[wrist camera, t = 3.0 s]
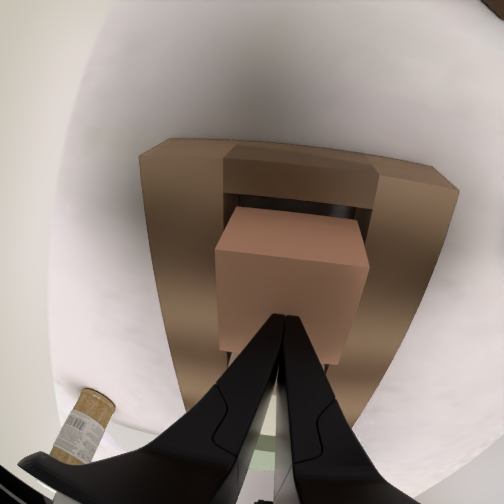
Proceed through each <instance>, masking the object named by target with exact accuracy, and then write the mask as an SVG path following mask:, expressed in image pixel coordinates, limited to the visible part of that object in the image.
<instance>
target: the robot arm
mask: <svg viewBox="0 0 504 504" xmlns="http://www.w3.org/2000/svg"><path fill="white" fill-rule="evenodd" d="M278 366H279V367H278ZM277 373H278V374H277ZM276 378H277V385H276V436H275V472H274V473H275V474H274V502H271V501H264V500H258V502H254V504H420V503H419V502H417V501H416V500H414V499H413V498H411V497H409V496H408V495H406V494H405V493H403V492H402V491H400V490H399V489H397V488H396V487H394V486H393V485H391V484H390V483H389V482H387V481H386V480H385V479H384V478H383V477H382V476H381V475H380V473H379V472H378V471H377V469H376V468H375V466H374V465H373V463H372V461H371V460H370V458H369V457H368V455H367V453H366V452H365V450H364V449H363V447H362V445H361V444H360V442H359V441H358V439H357V437H356V436H355V434H354V432H353V431H352V429H351V427H350V425H349V424H348V422H347V420H346V418H345V416H344V414H343V412H342V410H341V407H340V405H339V403H338V401H337V399H336V396H335V394H334V392H333V390H332V387H331V385H330V383H329V381H328V378H327V376H326V374H325V372H324V369H323V367H322V365H321V363H320V361H319V358H318V356H317V354H316V352H315V349H314V347H313V345H312V343H311V341H310V338H309V336H308V334H307V332H306V330H305V327H304V325H303V323H302V321H301V319H300V317H299V316H295V315H286V318H285V315H284V314H278V313H272V314H271V315H270V317H269V318H268V319H267V320H266V322H265V323H264V324H263V325H262V327H261V328H260V329H259V330H258V332H257V333H256V334H255V335H254V337H253V338H252V339H251V340H250V341H249V343H248V344H247V345H246V346H245V348H244V349H243V350H242V351H241V352H240V354H239V355H238V356H237V357H236V359H235V360H234V361H233V362H232V363H231V365H230V366H229V367H228V368H227V369H226V370H225V372H224V373H223V374H222V375H221V376H220V378H219V379H218V380H217V381H216V384H213V386H212V387H211V388H210V389H209V390H208V391H207V393H206V394H205V395H204V396H203V397H202V398H201V399H200V400H199V401H198V402H197V403H196V404H195V405H194V406H193V407H192V408H191V409H190V410H189V411H188V412H186V413H185V414H184V415H183V416H182V417H181V418H180V419H178V420H177V421H176V422H175V423H174V424H172V425H171V426H170V427H169V428H168V429H166V430H165V431H164V432H163V433H161V434H160V435H159V436H158V437H157V438H155V439H154V440H153V441H151V442H150V443H148V444H147V445H145V446H143V447H142V448H139V449H137V450H134V451H131V452H127V453H124V454H121V455H117V456H114V457H110V458H107V459H103V460H99V461H96V462H92V463H88V464H82V465H72V464H66V463H64V462H61V461H59V460H58V459H56V458H54V457H52V456H50V455H48V454H46V453H44V452H41V451H40V452H37V453H34V454H31V455H29V456H27V457H25V458H23V459H22V460H21V461H20V462H19V463H18V464H17V465H18V466H19V467H20V468H22V469H23V470H25V471H26V472H28V473H29V474H30V475H32V476H33V477H35V478H36V479H38V480H39V481H41V482H43V483H44V484H46V485H47V486H49V487H51V488H52V489H54V490H56V493H55V496H54V498H53V500H50V499H49V498H48V497H46V496H44V495H43V494H41V493H40V492H38V491H36V490H35V489H33V488H32V487H30V486H29V485H27V484H26V483H24V482H23V481H22V480H20V479H19V478H17V477H16V476H15V475H13V474H12V473H10V472H9V471H8V470H6V469H5V468H4V467H3V466H1V465H0V504H236V502H237V499H238V496H239V493H240V490H241V488H242V485H243V482H244V479H245V476H246V474H247V471H248V468H249V465H250V462H251V459H252V456H253V453H254V450H255V447H256V444H257V441H258V438H259V435H260V432H261V429H262V426H263V423H264V419H265V416H266V413H267V410H268V407H269V403H270V400H271V397H272V393H273V390H274V387H275V383H276Z"/></svg>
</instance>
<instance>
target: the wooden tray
mask: <svg viewBox="0 0 504 504" xmlns="http://www.w3.org/2000/svg"><path fill="white" fill-rule="evenodd" d="M139 164H140V174H141V184H142V193H143V201H144V210H145V217H146V225H147V232H148V239H149V245H150V251H151V258H152V264H153V270H154V275H155V281H156V286H157V292H158V297H159V302H160V307H161V312H162V317H163V321H164V326H165V331H166V335H167V340H168V344H169V348H170V352H171V357H172V361H173V365H174V369H175V373H176V377H177V380H178V384H179V388H180V392H181V395H182V399H183V402H184V406H185V409H186V412H188V411H189V410H190V409H191V408H192V407H193V406H194V405H195V404H196V403H197V402H198V401H199V400H200V399H201V398H202V397H203V396H204V395H205V394H206V393H207V391H208V390H209V389H210V388H211V387H212V386H213V384H216V381H217V380H218V379H219V378H220V376H221V375H222V374H223V373H224V372H225V370H226V369H227V368H228V365H229V361H230V358H231V354H232V352H228V351H222V350H220V348H219V331H218V313H217V293H216V270H215V248H216V246H217V244H218V242H219V240H220V238H221V236H222V234H223V232H224V230H225V228H226V226H227V224H228V222H229V220H230V218H231V216H232V214H233V212H234V210H235V208H236V206H237V207H239V194H245V195H256V196H267V197H277V198H286V199H295V200H304V201H313V202H321V203H329V204H337V205H345V206H352V207H356V210H355V215H354V220H357V222H358V225H359V229H360V232H361V236H362V239H363V243H364V247H365V251H366V254H367V258H368V262H369V266H370V268H369V272H368V275H367V279H366V282H365V286H364V289H363V292H362V296H361V299H360V302H359V305H358V308H357V311H356V314H355V317H354V320H353V323H352V326H351V329H350V332H349V335H348V338H347V341H346V344H345V346H344V349H343V352H342V355H341V357H340V360H339V363H338V365H333V364H324V372H325V374H326V376H327V378H328V381H329V383H330V385H331V387H332V390H333V392H334V394H335V396H336V399H337V401H338V403H339V405H340V407H341V410H342V412H343V414H344V416H345V418H346V420H347V422H348V424H349V425H350V427H351V428H352V427H353V425H354V424H355V422H356V421H357V419H358V418H359V416H360V414H361V413H362V411H363V410H364V408H365V407H366V405H367V403H368V402H369V400H370V398H371V397H372V395H373V393H374V392H375V390H376V388H377V387H378V385H379V383H380V382H381V380H382V378H383V376H384V375H385V373H386V371H387V369H388V367H389V366H390V364H391V362H392V360H393V358H394V356H395V354H396V352H397V350H398V349H399V347H400V345H401V343H402V341H403V339H404V337H405V335H406V333H407V330H408V328H409V326H410V324H411V322H412V320H413V318H414V316H415V313H416V311H417V309H418V307H419V305H420V302H421V300H422V298H423V295H424V293H425V291H426V288H427V286H428V283H429V281H430V278H431V276H432V273H433V271H434V268H435V265H436V263H437V260H438V257H439V255H440V252H441V249H442V246H443V243H444V240H445V238H446V235H447V232H448V228H449V225H450V222H451V219H452V216H453V212H454V209H455V206H456V202H457V199H458V195H459V190H458V189H457V188H456V187H455V186H454V185H452V184H451V183H450V182H449V181H448V180H447V179H446V178H445V177H444V176H443V175H441V174H440V173H439V172H438V171H437V170H436V169H435V168H433V167H431V166H426V165H422V164H417V163H412V162H407V161H402V160H397V159H392V158H386V157H381V156H375V155H369V154H363V153H356V152H349V151H343V150H335V149H328V148H320V147H311V146H302V145H292V144H282V143H270V142H257V141H241V140H220V139H168V140H166V141H164V142H162V143H161V144H159V145H157V146H155V147H153V148H152V149H150V150H148V151H146V152H145V153H143V154H141V155H139Z"/></svg>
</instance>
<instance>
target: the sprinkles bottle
mask: <svg viewBox="0 0 504 504" xmlns="http://www.w3.org/2000/svg"><path fill="white" fill-rule="evenodd" d="M114 412H115V407H114V405H113V404H112V403H111V402H110V401H109V400H108V399H107V398H106V397H104V396H103V395H101V394H99V393H98V392H96V391H93V390H89V389H84V390H82V392H81V395H80V397H79V399H78V401H77V403H76V404H75V406H74V408H73V410H72V411H71V412H70V414H69V416H68V418H67V420H66V421H65V423H64V425H63V427H62V429H61V431H60V433H59V435H58V437H57V439H56V441H55V443H54V445H53V448H52V450H51V452H50V454H49V455H50V456H52V457H54V458H56V459H58V460H59V461H61V462H64V463H66V464H72V465H82V464H88V463H91V460H92V458H93V456H94V454H95V452H96V449H97V447H98V445H99V443H100V441H101V439H102V436H103V434H104V432H105V428H106V427H107V424H108V422H109V420H110V418H111V416H112V414H113V413H114ZM36 480H37V482H39V483H40V484H41V485H43V486H44V487H46V488H48V489H49V490H51V491H53V492H54V493H56V490H54V489H52V488H51V487H49V486H47V485H46V484H44V483H43V482H41V481H39V480H38V479H36Z"/></svg>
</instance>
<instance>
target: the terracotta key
mask: <svg viewBox="0 0 504 504" xmlns="http://www.w3.org/2000/svg"><path fill="white" fill-rule="evenodd" d="M369 268H370V266H369V262H368V258H367V254H366V251H365V247H364V243H363V239H362V236H361V232H360V229H359V225H358V222H357V220H353V219H345V218H337V217H329V216H321V215H313V214H304V213H295V212H286V211H277V210H268V209H258V208H248V207H237V206H236V208H235V210H234V212H233V214H232V216H231V218H230V220H229V222H228V224H227V226H226V228H225V230H224V232H223V234H222V236H221V238H220V240H219V242H218V244H217V246H216V248H215V270H216V293H217V313H218V331H219V348H220V350H222V351H228V352H234V353H240V352H241V351H242V350H243V349H244V348H245V346H246V345H247V344H248V343H249V341H250V340H251V339H252V338H253V337H254V335H255V334H256V333H257V332H258V330H259V329H260V328H261V327H262V325H263V324H264V323H265V322H266V320H267V319H268V318H269V317H270V315H271V314H272V313H278V314H284V315H285V318H286V315H295V316H299V317H300V319H301V321H302V323H303V325H304V327H305V330H306V332H307V334H308V336H309V338H310V341H311V343H312V345H313V347H314V349H315V352H316V354H317V356H318V358H319V361H320V363H321V364H333V365H338V363H339V360H340V357H341V355H342V352H343V349H344V346H345V344H346V341H347V338H348V335H349V332H350V329H351V326H352V323H353V320H354V317H355V314H356V311H357V308H358V305H359V302H360V299H361V296H362V292H363V289H364V286H365V282H366V279H367V275H368V272H369Z"/></svg>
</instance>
